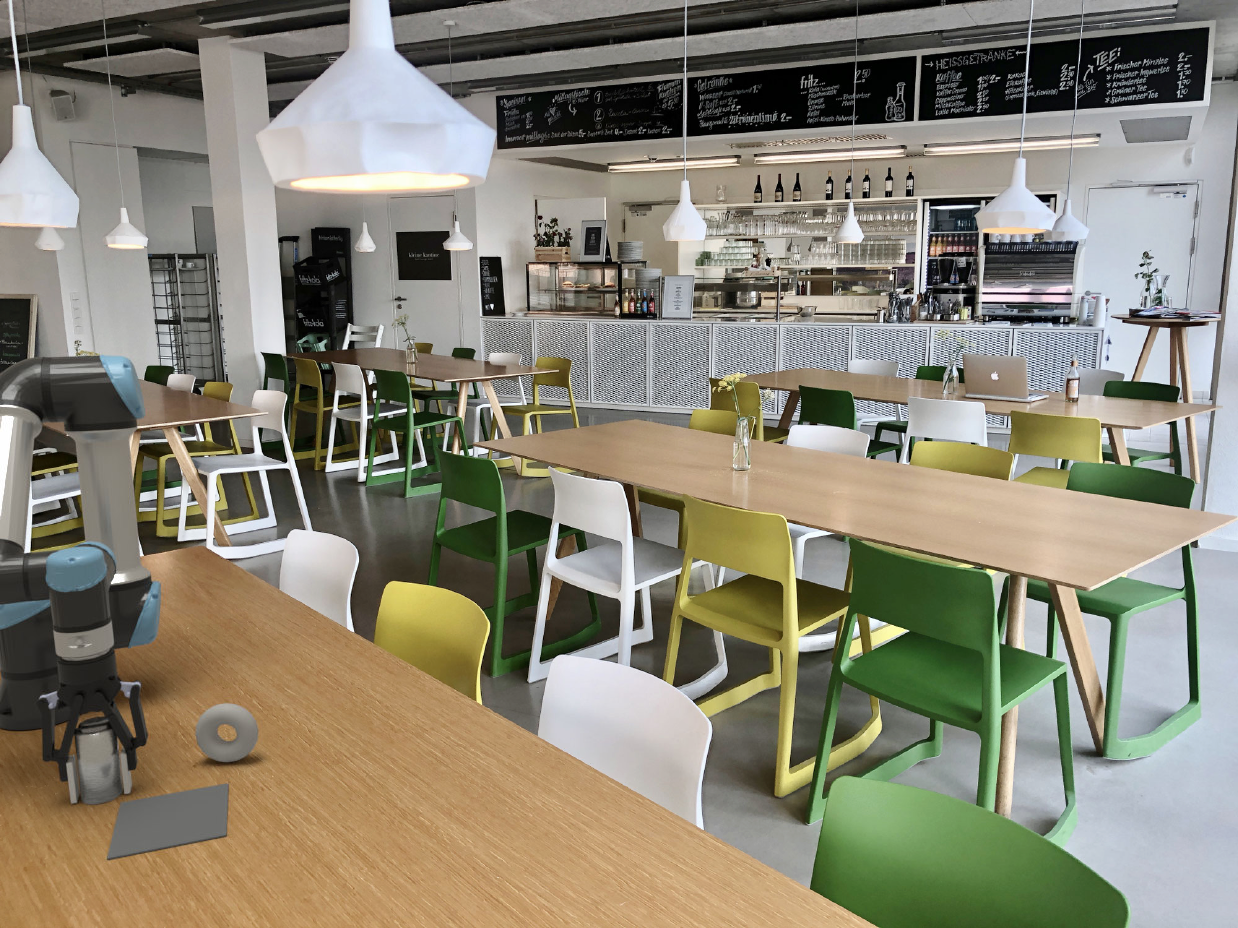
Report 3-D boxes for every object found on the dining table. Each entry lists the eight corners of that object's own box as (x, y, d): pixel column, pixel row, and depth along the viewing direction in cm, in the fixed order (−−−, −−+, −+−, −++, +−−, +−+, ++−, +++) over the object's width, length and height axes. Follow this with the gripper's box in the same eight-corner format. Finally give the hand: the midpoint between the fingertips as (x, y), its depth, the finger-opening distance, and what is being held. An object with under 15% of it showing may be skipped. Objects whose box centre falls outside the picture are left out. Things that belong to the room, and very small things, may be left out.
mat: (120, 803, 139) (120, 802, 139) (228, 784, 144) (228, 782, 144) (106, 859, 125) (106, 858, 125) (226, 836, 131) (226, 834, 131)
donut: (263, 754, 154) (259, 698, 152) (256, 765, 150) (251, 708, 148) (203, 756, 153) (197, 699, 151) (194, 766, 150) (188, 709, 148)
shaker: (84, 788, 143) (76, 718, 141) (124, 782, 145) (118, 712, 143) (78, 807, 138) (70, 733, 136) (120, 799, 140) (113, 727, 138)
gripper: (3, 670, 130) (22, 819, 134) (155, 651, 137) (170, 793, 141) (15, 652, 137) (33, 794, 141) (160, 634, 144) (173, 770, 148)
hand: (102, 793), depth 141 cm, fingers open, 6 cm apart
